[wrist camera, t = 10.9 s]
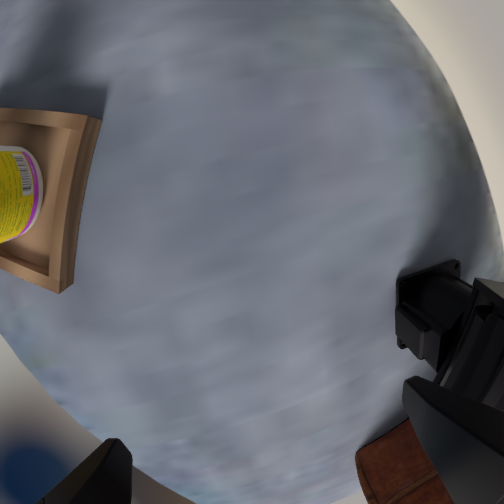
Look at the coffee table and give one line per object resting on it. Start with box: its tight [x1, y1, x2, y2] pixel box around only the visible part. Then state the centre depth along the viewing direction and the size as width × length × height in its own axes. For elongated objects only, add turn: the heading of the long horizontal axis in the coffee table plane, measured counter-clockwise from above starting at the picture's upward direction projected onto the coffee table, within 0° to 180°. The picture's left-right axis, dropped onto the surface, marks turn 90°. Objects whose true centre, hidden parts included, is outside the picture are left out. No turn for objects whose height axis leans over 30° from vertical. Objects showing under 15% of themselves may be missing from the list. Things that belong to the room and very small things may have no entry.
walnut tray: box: [0, 108, 102, 294], centre depth 16 cm, size 12×12×2 cm
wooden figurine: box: [355, 419, 455, 504], centre depth 17 cm, size 12×6×18 cm, turn 127°
